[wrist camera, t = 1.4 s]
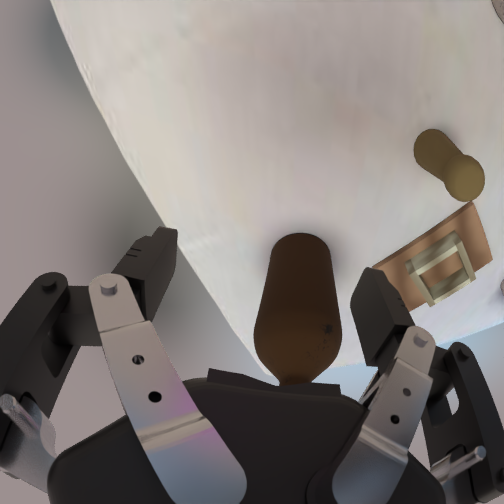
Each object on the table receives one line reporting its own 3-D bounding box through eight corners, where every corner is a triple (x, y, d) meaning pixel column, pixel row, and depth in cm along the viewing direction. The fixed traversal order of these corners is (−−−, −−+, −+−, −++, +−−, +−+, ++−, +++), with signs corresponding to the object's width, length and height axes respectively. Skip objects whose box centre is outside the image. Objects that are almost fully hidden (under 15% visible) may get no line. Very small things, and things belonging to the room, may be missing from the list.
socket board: (471, 200, 34) (482, 214, 31) (490, 256, 39) (499, 270, 35) (372, 266, 44) (376, 283, 41) (405, 309, 49) (410, 325, 46)
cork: (412, 170, 33) (444, 210, 25) (414, 127, 30) (452, 156, 21) (448, 171, 32) (486, 210, 24) (452, 130, 29) (496, 160, 20)
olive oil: (271, 223, 42) (243, 383, 23) (342, 235, 42) (361, 395, 22) (263, 276, 49) (238, 420, 29) (325, 286, 48) (326, 429, 29)
